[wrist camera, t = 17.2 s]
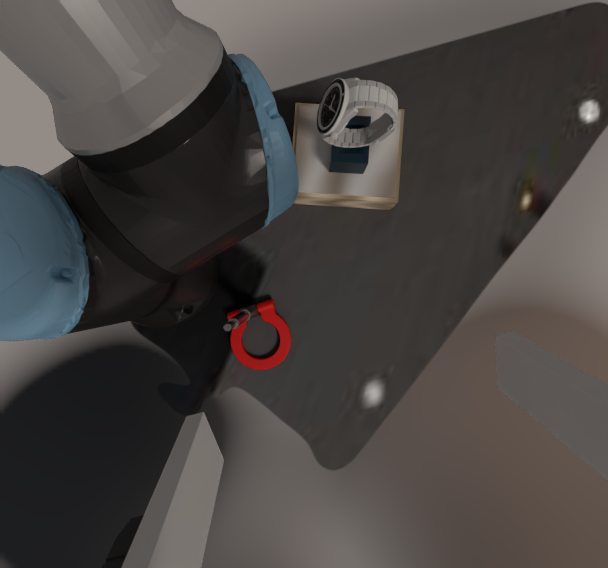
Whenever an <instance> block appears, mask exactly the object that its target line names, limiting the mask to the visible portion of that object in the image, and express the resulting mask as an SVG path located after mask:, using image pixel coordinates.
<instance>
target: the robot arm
mask: <svg viewBox="0 0 608 568" xmlns="http://www.w3.org/2000/svg"><path fill="white" fill-rule="evenodd" d="M0 50H1V51H2V52H3V53H4V54H5V55H6V56H7V57H8V58H9V59H10V60H11V61H12V62H13V63H14V64H15V65H16V66H17V67H18V68H19V69H20V70H22V71H23V72H24V73H25V74H26V75H27V76H28V77H29V78H30V79H31V80H32V81H33V82H34V83H35V84H36V85H37V86H38V87H39V88H40V89H41V90H43V91H44V92H45V93H46V94H47V95H48V97H49V99H50V102H51V104H52V107H53V114H54V120H55V126H56V133H57V138H58V140H59V142H60V143H61V144H62V145H63V146H64V147H65V148H66V149H67V150H68V151H69V152H70V153H72V154H73V155H74V157H73V158H71V159H69V160H68V161H66V162H65V163H63V164H61V165H59V166H58V167H56V168H55V169H53V170H52V171H50V172H48V173H46V174H44V175H40V174H37V173H35V172H33V171H31V170H29V169H26V168H24V167H18V166H10V167H6V166H1V165H0V340H1V341H23V340H33V339H53V338H57V337H59V336H62V335H65V334H69V333H73V332H79V331H83V330H88V329H93V328H98V327H102V326H108V325H113V324H117V323H122V322H127V321H131V322H134V323H137V324H140V325H144V326H148V327H168V326H173V325H177V324H180V323H183V322H186V321H188V320H190V319H192V318H193V317H195V316H196V315H198V314H199V313H200V312H201V311H202V310H203V309H204V308H205V307H206V306H207V305H208V303H209V302H210V300H211V299H212V297H213V295H214V293H215V290H216V287H217V283H218V276H219V268H218V261H217V257H216V255H218V254H219V253H221V252H223V251H224V250H226V249H228V248H229V247H231V246H232V245H234V244H236V243H237V242H239V241H241V240H242V239H244V238H246V237H247V236H249V235H251V234H252V233H254V232H256V231H257V230H259V229H263V228H264V227H265V226H267V225H268V224H269V223H270V221H271V220H273V219H274V218H275V217H277V216H278V215H280V214H281V213H282V212H284V211H285V210H287V209H288V208H289V207H290V206H291V205H292V204H293V203H294V201H295V200H296V197H297V194H298V190H299V174H298V167H297V162H296V157H295V153H294V149H293V146H292V143H291V139H290V136H289V133H288V130H287V127H286V124H285V122H284V120H283V118H282V117H281V116H280V115H279V113H278V111H277V106H276V102H275V99H274V96H273V94H272V92H271V90H270V88H269V86H268V84H267V82H266V80H265V78H264V77H263V75H262V73H261V72H260V70H259V69H258V67H257V66H256V65H255V64H254V63H253V61H252V60H251V59H249V58H248V57H247V56H245V55H243V54H237V55H235V54H229V55H227V53H226V51H225V48H224V46H223V44H222V42H221V40H220V38H219V36H218V34H217V33H216V32H215V31H214V30H212V29H211V28H209V27H206V26H204V25H202V24H200V23H198V22H196V21H194V20H192V19H190V18H188V17H186V16H184V15H183V14H182V13H180V12H179V11H178V10H177V9H176V8H175V6H174V4H173V2H172V0H0ZM495 340H496V361H497V381H498V382H497V383H498V388H499V389H500V390H501V391H503V392H504V393H505V394H506V395H507V396H509V397H510V398H511V399H513V401H514V402H516V403H517V404H518V405H519V406H520V407H522V408H523V409H524V410H525V411H526V412H527V413H529V414H530V415H531V416H532V417H533V418H534V419H536V420H537V421H538V422H539V423H540V424H542V425H543V426H544V427H545V428H546V429H547V430H549V431H550V432H551V433H552V434H553V435H554V436H556V437H557V438H558V439H559V440H561V441H562V442H563V443H564V444H565V445H566V446H567V447H569V448H570V449H571V450H572V451H574V452H575V453H576V454H577V455H578V456H579V457H581V458H582V459H583V460H584V461H585V462H586V463H588V464H589V465H590V466H591V467H593V468H594V469H595V470H596V471H597V472H598V473H599V474H601V475H602V476H603V477H604V478H605V479H606V480H608V384H606V383H605V382H603V381H601V380H599V379H597V378H596V377H594V376H592V375H590V374H588V373H587V372H585V371H583V370H581V369H579V368H578V367H576V366H574V365H572V364H570V363H569V362H567V361H565V360H563V359H561V358H560V357H558V356H556V355H554V354H552V353H551V352H549V351H547V350H545V349H543V348H541V347H540V346H538V345H536V344H534V343H532V342H531V341H529V340H527V339H525V338H523V337H521V336H520V335H518V334H516V333H514V332H513V331H511V332H507V333H503V334H499V335H496V337H495ZM223 462H224V459H223V457H222V454H221V452H220V449H219V447H218V445H217V442H216V440H215V438H214V435H213V433H212V431H211V428H210V426H209V423H208V421H207V419H206V416H205V414H204V412H202V413H198V414H194V415H191V416H187V417H186V419H185V421H184V424H183V426H182V428H181V431H180V433H179V435H178V437H177V440H176V442H175V444H174V447H173V449H172V451H171V454H170V456H169V458H168V461H167V463H166V465H165V468H164V470H163V472H162V474H161V477H160V479H159V481H158V484H157V486H156V488H155V491H154V493H153V495H152V498H151V500H150V502H149V505H148V507H147V509H146V512H145V514H144V515H143V516H139V517H135V518H131V519H130V521H129V522H128V523H127V525H126V526H125V527H124V529H123V530H122V531H121V533H120V534H119V535H118V536H117V538H116V540H115V542H114V544H113V546H112V548H111V550H110V552H109V554H108V556H107V558H106V563H105V564H103V566H102V568H201V564H202V560H203V556H204V550H205V546H206V541H207V537H208V532H209V527H210V523H211V518H212V513H213V509H214V504H215V499H216V495H217V490H218V485H219V481H220V476H221V471H222V467H223Z"/></svg>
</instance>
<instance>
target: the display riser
mask: <svg viewBox="0 0 608 568" xmlns="http://www.w3.org/2000/svg"><path fill="white" fill-rule="evenodd" d="M319 105H320V104H307V103H296V105H295V119H294V133H293V149H294V153H295V157H296V162H297V167H298V174H299V190H298V194H297V197H296V200H295V201H294V203H293V204H308V205H323V206H338V207H353V208H368V209H383V210H390V209H391V208H392V207H393V206H395V205H396V204H397V203H398V193H399V178H400V164H401V150H402V135H403V121H404V109H398V111H397V124H396V126H395V130H394V132H393V133H391V134H390V135H389V136H388V137H386V138H385V139H384V140H382V141H380V142H378V143H377V144H375V145H372V146H370V145H369V160H368V165H367V167H366V169H365V171H364V173H363V174H353V173H335V172H329V168H330V152H331V144H329V143H328V142H326V141H324V140H323V139H322V138H320V133H319V132H318V129H317V113H318V108H319ZM384 113H385V112H383V110H382V111H380V110H376V109H374V108H373V109H370V108H365V107H364V108H358V113H357V114H356V115H355V116H371V123H372V122H374V121H375V120H377V119H378V118H380V117H381V116H382V115H383V114H384Z"/></svg>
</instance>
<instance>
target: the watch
mask: <svg viewBox="0 0 608 568" xmlns="http://www.w3.org/2000/svg"><path fill="white" fill-rule="evenodd" d="M364 107H365V108H370V109H373V108H374V109H376V110H380V111H382V110H383V112H385V113H384V114H383V115H382V116H381V117H380V118H378V119H377V120H375V121H374V122H372V123H371V116H355V115H356V114H357V113H358V108H364ZM397 111H398V98H397V96H396V94H395V93H394V91H392V89H391V88H390V87H388V86H386V85H384V84H382V83H380V82H377V83H376V82H375V81H370V80H367V82H366V80H360V79H358V78H350V79H345V80H343V79H341V78H337V79H335V80H333V81H332V82H331V83H330V85H329V86H328V87H327V89H326V91H325V92H324V95H323V97H322V99H321V102H320V105H319V108H318V113H317V129H318V132H319V133H320V138H322V139H323V140H324V141H326V142H328V143H329V144H331V152H330V168H329V172H335V173H353V174H363V173H364V171H365V169H366V167H367V165H368V160H369V145H370V146H372V145H375V144H377V143H378V142H380V141H382V140H384V139H385V138H386V137H388V136H389V135H390V134H391V133H393V132H394V130H395V126H396V124H397Z"/></svg>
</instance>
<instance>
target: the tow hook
mask: <svg viewBox="0 0 608 568" xmlns="http://www.w3.org/2000/svg"><path fill="white" fill-rule="evenodd" d="M259 314H261V317H262V320H263V321H267V322H269V323H271V324H272V325H273V326H275V328H276V329H277V330H278V332H279V335H280V345H279V347H278V349H277V351H276V352H275V353H274V354H272V355H271V356H269V357H266V358H257V357H254V356H252V355H250V354H249V353H248V352H247V351H246V350H245V348H244V346H243V343H242V335H243V332H244V329H245V328H246V327H247V325H248V323H247V321H248V320H250V319H251V318H253V317H256V316H258V315H259ZM227 317H228V322H227V323H226V324H225V325H224V330H225V331H230V330H231V329H232V331H231V337H230V341H231V348H232V350H233V353H234V355H235V356H236V358H237V359H238V360H239V361H240V362H241V363H242V364H244V365H245V366H247V367H249V368H252V369H257V370H265V369H270V368H272V367H275V366H276V365H278V364H279V363H281V362H282V361H283V359H284V358H285V357H286V356H287V354H288V351H289V349H290V344H291V333H290V330H289V327H288V325H287V323H286V322H285V321H284V319H283V318H282V317H280V316H279V315H278V314H276V311H275V304H274V301H273V299H270V300H267V301H264V302H260V303H255V304H252V305H249V306H245V307H243V308H241V309H238V310H235V311H232V312H229V313H227Z"/></svg>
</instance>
